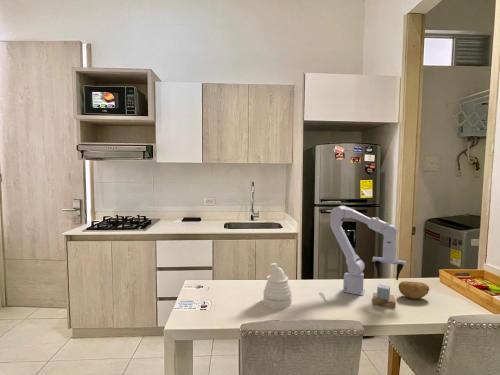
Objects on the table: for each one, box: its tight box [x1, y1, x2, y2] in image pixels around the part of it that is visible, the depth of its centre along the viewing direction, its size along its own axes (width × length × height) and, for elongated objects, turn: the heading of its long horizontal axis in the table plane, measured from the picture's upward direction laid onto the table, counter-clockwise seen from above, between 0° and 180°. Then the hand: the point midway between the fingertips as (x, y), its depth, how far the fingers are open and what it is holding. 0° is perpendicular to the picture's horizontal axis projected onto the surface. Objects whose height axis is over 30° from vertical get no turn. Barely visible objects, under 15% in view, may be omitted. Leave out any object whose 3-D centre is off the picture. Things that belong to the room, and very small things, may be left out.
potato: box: [398, 280, 430, 300], centre depth 158 cm, size 10×14×8 cm
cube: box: [376, 283, 391, 300], centre depth 152 cm, size 5×5×5 cm
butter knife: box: [318, 291, 329, 305], centre depth 150 cm, size 1×27×3 cm
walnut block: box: [372, 292, 397, 309], centre depth 152 cm, size 9×9×3 cm
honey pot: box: [262, 262, 293, 310], centre depth 150 cm, size 13×13×18 cm
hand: (388, 278), depth 156 cm, fingers open, 7 cm apart
